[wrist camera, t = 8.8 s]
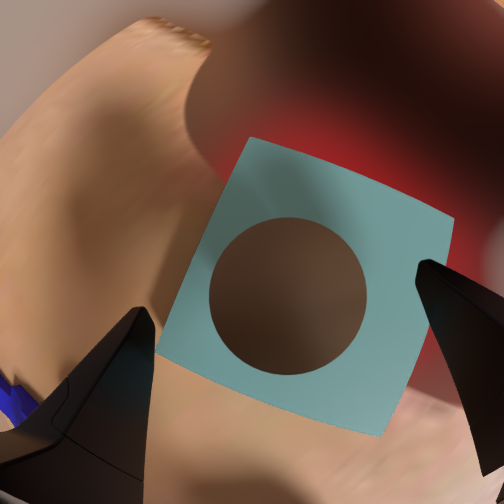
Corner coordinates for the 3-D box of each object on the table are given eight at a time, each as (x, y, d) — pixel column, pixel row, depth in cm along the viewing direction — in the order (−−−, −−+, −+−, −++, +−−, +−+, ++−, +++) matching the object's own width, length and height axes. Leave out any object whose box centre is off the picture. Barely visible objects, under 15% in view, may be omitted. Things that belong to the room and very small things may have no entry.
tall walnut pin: (323, 300, 19) (395, 285, 7) (283, 346, 19) (295, 405, 7) (278, 262, 20) (279, 188, 8) (239, 306, 20) (177, 301, 7)
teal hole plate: (431, 231, 19) (454, 218, 16) (365, 419, 17) (380, 437, 14) (254, 161, 22) (250, 136, 18) (174, 345, 19) (154, 352, 16)
